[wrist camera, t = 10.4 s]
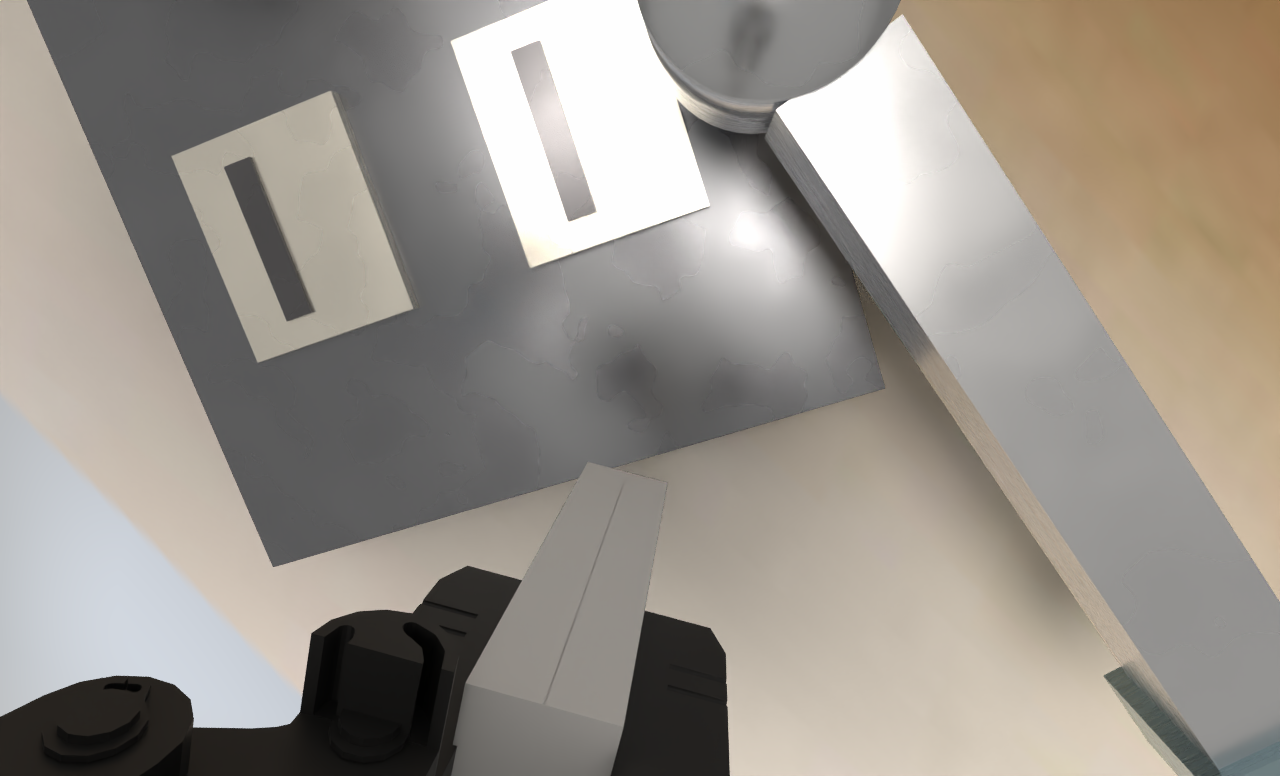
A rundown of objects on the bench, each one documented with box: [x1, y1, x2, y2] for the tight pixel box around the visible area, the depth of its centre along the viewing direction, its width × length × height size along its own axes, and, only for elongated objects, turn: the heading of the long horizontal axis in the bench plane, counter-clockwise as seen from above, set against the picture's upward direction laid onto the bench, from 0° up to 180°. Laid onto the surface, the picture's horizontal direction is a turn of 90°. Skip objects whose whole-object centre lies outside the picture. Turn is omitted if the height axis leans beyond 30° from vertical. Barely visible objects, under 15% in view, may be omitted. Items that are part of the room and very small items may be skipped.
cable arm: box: [637, 0, 1280, 776], centre depth 14 cm, size 4×21×4 cm, turn 36°
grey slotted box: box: [27, 0, 885, 567], centre depth 19 cm, size 18×20×6 cm
